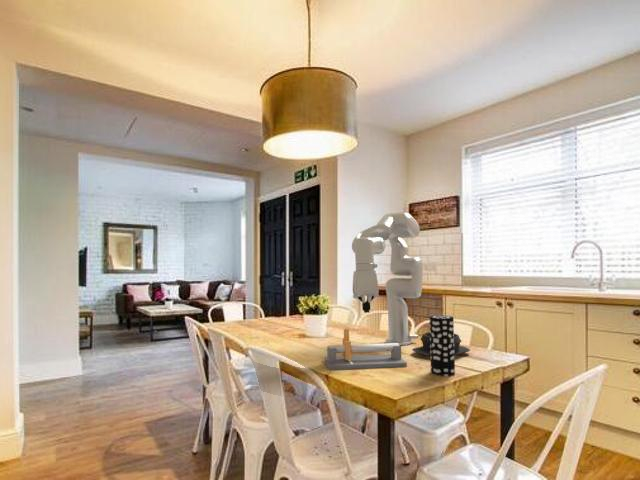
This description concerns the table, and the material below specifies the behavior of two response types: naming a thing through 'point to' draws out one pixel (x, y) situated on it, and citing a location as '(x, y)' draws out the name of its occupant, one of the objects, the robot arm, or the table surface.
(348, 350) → the collar
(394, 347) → the pipe rig
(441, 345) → the white-spotted black cylinder
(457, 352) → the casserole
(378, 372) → the table surface
